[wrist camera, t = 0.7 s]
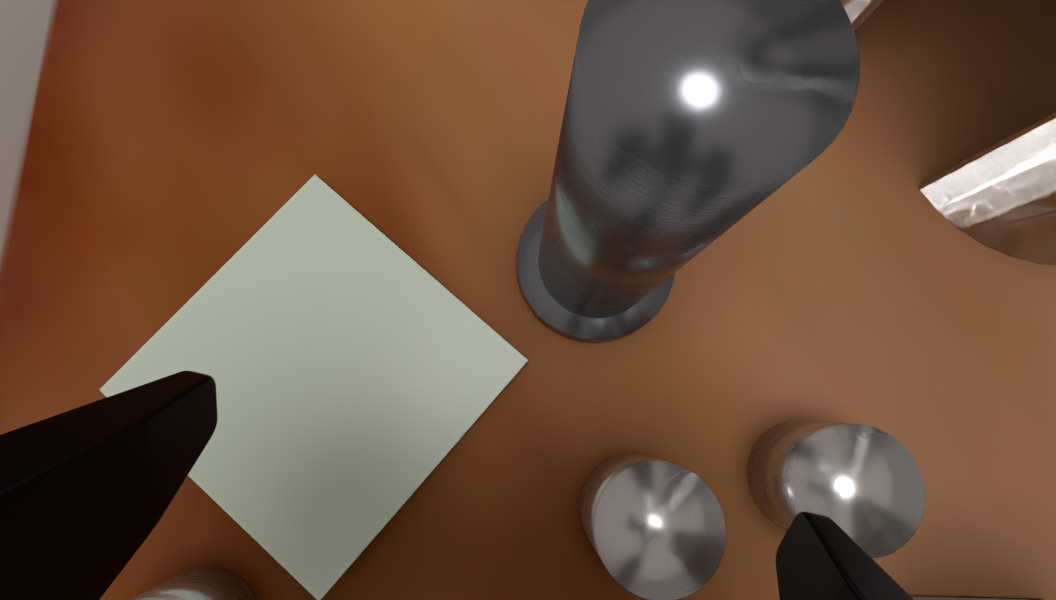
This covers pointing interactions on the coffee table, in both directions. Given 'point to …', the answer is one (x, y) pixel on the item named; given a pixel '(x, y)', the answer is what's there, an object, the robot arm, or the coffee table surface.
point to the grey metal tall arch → (998, 184)
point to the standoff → (676, 145)
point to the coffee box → (954, 599)
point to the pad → (325, 381)
